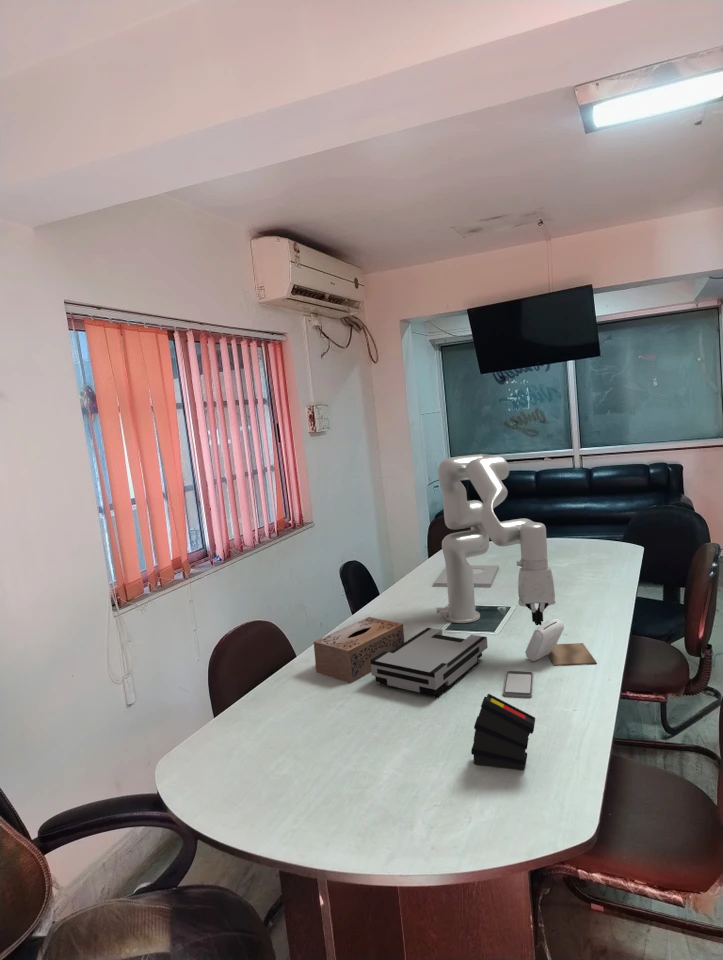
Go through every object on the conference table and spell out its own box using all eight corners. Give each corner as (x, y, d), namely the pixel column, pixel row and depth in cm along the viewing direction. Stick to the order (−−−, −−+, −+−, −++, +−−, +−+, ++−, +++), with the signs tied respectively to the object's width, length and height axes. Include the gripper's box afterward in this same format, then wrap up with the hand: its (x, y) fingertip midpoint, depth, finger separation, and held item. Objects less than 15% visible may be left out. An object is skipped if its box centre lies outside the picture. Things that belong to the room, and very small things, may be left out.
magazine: (461, 747, 138) (486, 691, 134) (517, 778, 135) (545, 721, 131) (457, 756, 135) (484, 699, 131) (515, 788, 131) (544, 730, 127)
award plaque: (433, 587, 270) (433, 582, 270) (446, 569, 298) (446, 565, 298) (490, 588, 262) (490, 583, 262) (498, 569, 290) (498, 565, 290)
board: (554, 665, 180) (554, 664, 180) (543, 646, 195) (543, 644, 195) (596, 664, 179) (596, 662, 179) (582, 644, 194) (582, 643, 194)
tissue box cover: (371, 645, 208) (368, 616, 207) (405, 654, 199) (403, 623, 198) (316, 673, 189) (313, 641, 188) (351, 684, 180) (348, 650, 179)
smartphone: (533, 671, 176) (531, 695, 162) (533, 675, 176) (531, 699, 162) (506, 670, 178) (502, 694, 164) (506, 674, 178) (503, 698, 164)
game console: (488, 659, 189) (486, 633, 189) (436, 703, 164) (434, 673, 163) (429, 648, 202) (427, 623, 201) (372, 687, 176) (370, 660, 175)
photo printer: (544, 641, 191) (557, 613, 185) (555, 651, 189) (568, 623, 182) (522, 653, 186) (534, 625, 179) (532, 663, 183) (545, 635, 176)
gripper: (510, 568, 182) (514, 629, 184) (563, 565, 180) (566, 626, 182) (507, 562, 189) (510, 620, 191) (557, 559, 188) (560, 618, 190)
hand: (537, 623), depth 187 cm, fingers closed
